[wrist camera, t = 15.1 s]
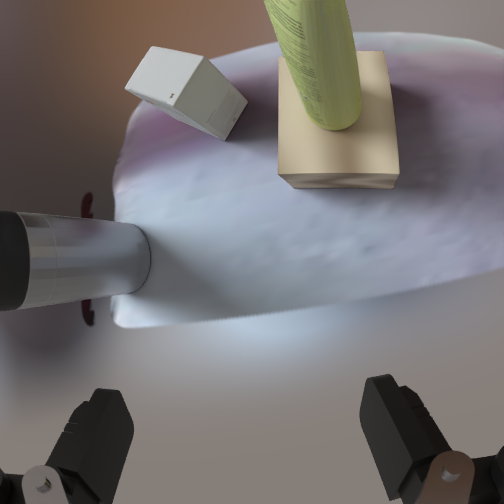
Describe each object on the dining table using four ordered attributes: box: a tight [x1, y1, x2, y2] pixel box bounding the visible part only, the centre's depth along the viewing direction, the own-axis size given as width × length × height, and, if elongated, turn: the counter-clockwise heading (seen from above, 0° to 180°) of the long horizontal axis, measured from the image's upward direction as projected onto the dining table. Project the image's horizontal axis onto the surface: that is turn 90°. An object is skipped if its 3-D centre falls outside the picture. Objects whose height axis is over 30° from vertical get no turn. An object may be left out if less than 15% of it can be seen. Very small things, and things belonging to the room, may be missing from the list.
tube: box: [264, 0, 362, 130], centre depth 14 cm, size 6×5×20 cm
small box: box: [125, 46, 248, 141], centre depth 29 cm, size 8×6×10 cm
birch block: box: [278, 51, 399, 189], centre depth 26 cm, size 10×12×6 cm
